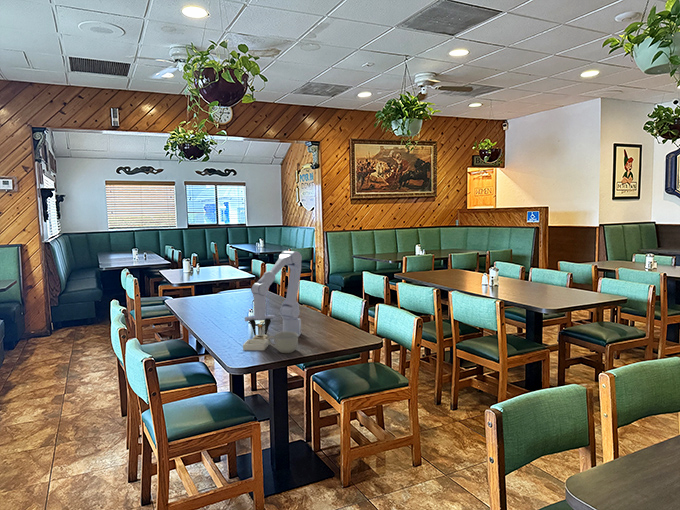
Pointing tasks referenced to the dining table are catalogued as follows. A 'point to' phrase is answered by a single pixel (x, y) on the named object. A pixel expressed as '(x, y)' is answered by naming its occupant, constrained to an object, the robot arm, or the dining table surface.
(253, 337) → the beige square frame
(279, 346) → the teacup
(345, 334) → the dining table surface
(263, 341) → the tray
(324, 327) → the dining table surface
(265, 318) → the robot arm
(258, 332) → the pin
